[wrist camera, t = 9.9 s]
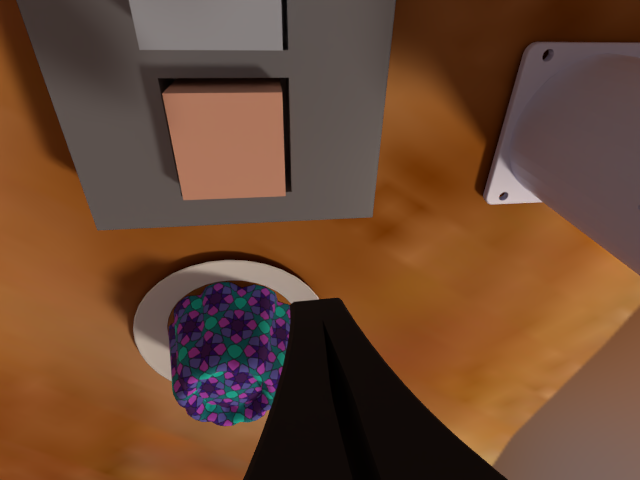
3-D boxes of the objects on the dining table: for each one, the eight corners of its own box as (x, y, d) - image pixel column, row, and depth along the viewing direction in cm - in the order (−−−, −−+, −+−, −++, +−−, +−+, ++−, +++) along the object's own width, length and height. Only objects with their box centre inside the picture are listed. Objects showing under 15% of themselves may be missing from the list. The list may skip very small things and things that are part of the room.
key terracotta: (278, 75, 16) (282, 92, 13) (282, 165, 18) (285, 196, 15) (179, 75, 15) (162, 93, 13) (195, 168, 18) (183, 200, 15)
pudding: (345, 356, 28) (361, 424, 24) (193, 403, 29) (180, 477, 24) (291, 225, 21) (300, 286, 17) (94, 290, 22) (53, 364, 18)
